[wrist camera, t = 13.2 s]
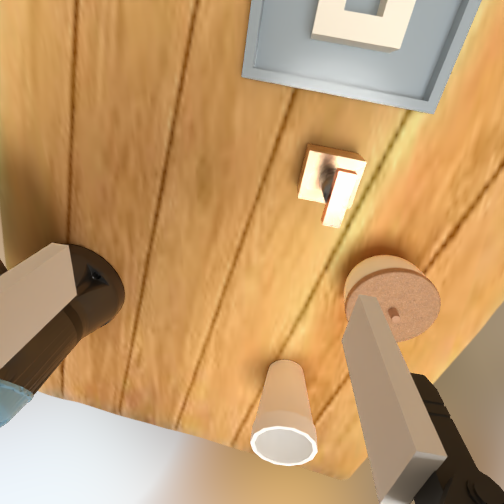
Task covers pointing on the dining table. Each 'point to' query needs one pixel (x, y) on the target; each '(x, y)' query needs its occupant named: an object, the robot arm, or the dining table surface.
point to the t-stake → (330, 180)
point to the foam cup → (284, 417)
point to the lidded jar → (395, 294)
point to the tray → (358, 52)
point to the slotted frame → (363, 25)
